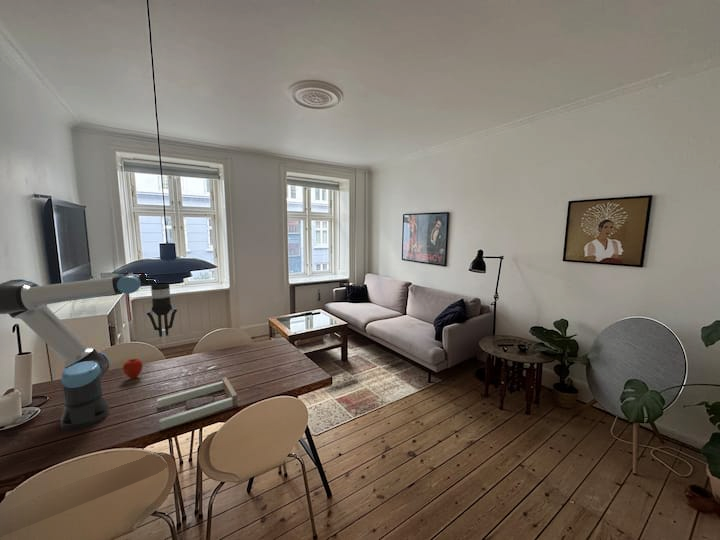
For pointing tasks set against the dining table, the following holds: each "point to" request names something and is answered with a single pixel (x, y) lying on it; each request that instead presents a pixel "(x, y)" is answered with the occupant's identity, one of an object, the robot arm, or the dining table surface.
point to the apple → (132, 368)
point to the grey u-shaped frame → (200, 410)
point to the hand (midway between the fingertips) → (164, 342)
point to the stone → (198, 402)
